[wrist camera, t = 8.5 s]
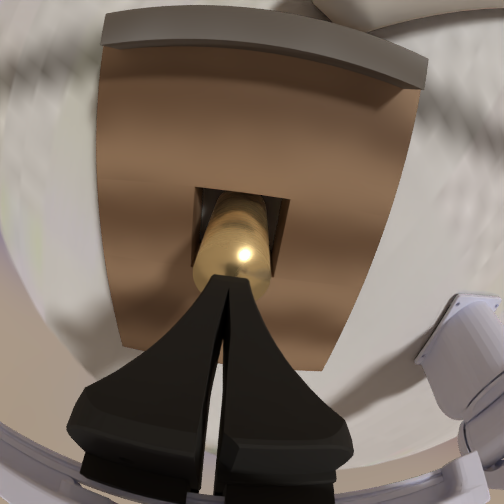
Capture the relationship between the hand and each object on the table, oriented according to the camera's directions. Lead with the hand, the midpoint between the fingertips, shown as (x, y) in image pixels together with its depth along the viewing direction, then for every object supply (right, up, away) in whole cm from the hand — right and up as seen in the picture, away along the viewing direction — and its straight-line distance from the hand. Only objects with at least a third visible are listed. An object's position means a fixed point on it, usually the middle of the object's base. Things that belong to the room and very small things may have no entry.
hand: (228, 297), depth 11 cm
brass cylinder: (0, +4, +7) cm, 8 cm away
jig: (0, +4, +7) cm, 8 cm away
